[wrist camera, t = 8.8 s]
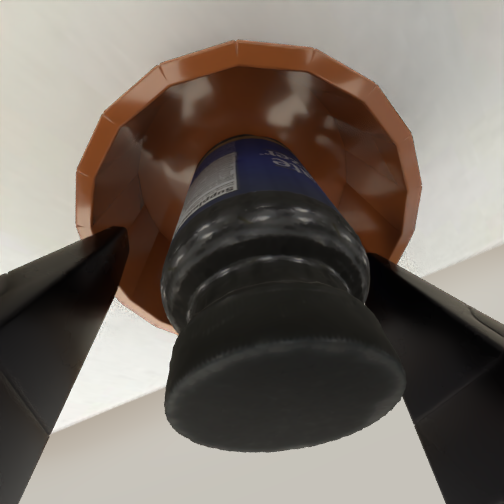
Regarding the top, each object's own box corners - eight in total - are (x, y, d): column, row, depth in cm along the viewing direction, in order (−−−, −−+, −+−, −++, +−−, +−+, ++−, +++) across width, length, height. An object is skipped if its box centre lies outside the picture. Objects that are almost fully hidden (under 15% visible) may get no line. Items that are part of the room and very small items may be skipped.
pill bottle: (324, 191, 14) (490, 398, 5) (246, 254, 16) (271, 476, 7) (250, 99, 11) (341, 216, 2) (167, 191, 13) (52, 433, 5)
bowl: (392, 172, 14) (477, 224, 10) (256, 293, 19) (266, 369, 14) (222, -32, 9) (218, -144, 4) (94, 205, 14) (26, 277, 9)
